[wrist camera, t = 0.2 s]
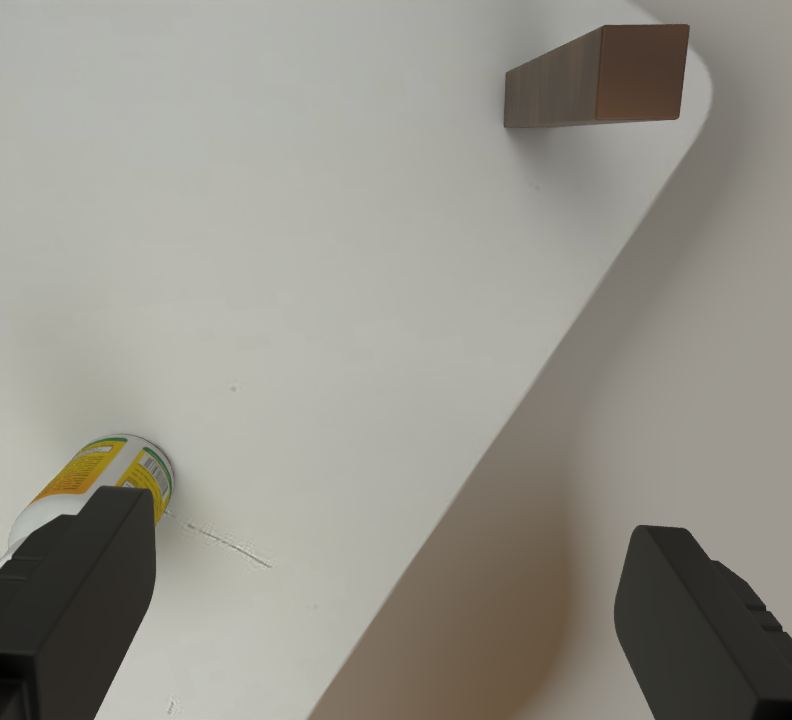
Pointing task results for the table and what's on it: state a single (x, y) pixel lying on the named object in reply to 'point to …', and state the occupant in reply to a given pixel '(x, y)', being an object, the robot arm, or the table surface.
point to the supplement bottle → (97, 482)
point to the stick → (601, 79)
